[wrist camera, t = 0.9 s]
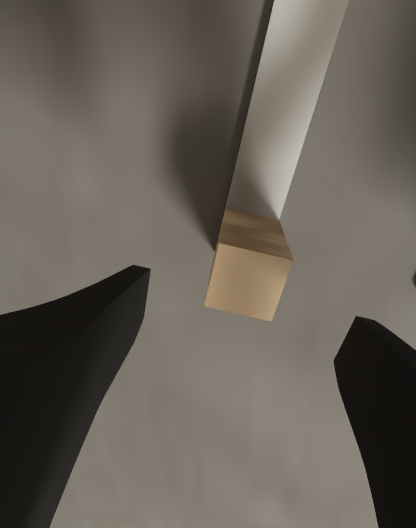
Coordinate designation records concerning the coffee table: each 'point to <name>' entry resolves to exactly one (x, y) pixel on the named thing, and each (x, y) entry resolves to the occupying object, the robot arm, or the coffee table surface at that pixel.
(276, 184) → the turner
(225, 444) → the coffee table surface
